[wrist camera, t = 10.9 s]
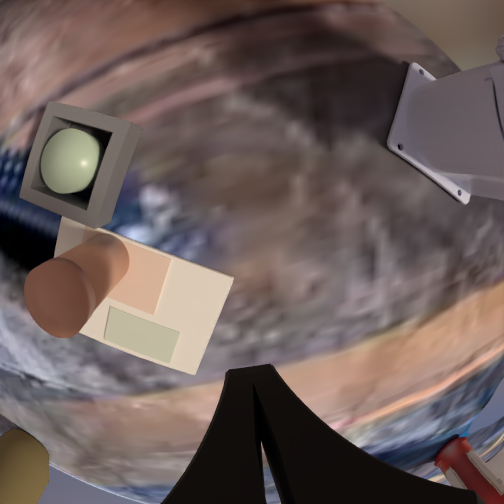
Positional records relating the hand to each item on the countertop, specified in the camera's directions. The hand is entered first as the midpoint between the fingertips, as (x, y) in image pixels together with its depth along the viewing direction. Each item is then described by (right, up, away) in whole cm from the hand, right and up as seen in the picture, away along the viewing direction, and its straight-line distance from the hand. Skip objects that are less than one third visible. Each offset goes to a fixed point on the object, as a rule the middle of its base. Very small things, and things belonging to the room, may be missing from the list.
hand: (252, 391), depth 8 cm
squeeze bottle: (-27, -19, +13) cm, 36 cm away
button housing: (-10, +10, +7) cm, 16 cm away
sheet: (-8, +1, +10) cm, 13 cm away
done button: (-10, +10, +6) cm, 15 cm away
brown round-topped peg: (-9, +4, +8) cm, 13 cm away
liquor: (+32, -28, +22) cm, 47 cm away
